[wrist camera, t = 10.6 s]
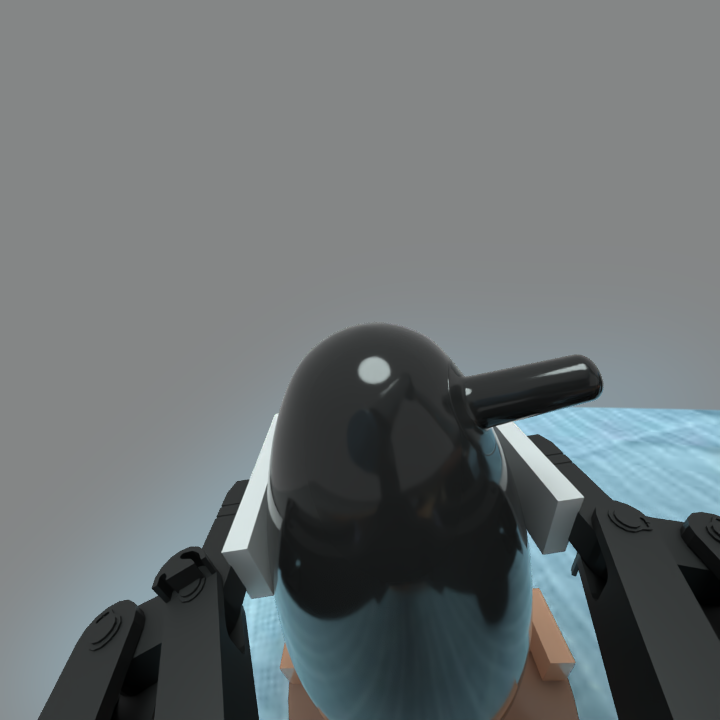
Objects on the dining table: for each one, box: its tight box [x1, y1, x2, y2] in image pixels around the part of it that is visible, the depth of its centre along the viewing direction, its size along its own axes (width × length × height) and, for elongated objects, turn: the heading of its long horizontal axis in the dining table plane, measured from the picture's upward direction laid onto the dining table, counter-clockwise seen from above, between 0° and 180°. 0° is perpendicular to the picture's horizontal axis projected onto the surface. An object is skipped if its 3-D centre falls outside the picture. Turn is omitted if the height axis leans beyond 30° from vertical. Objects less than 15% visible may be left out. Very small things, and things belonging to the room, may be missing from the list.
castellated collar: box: [280, 588, 579, 720], centre depth 15 cm, size 16×16×3 cm
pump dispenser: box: [267, 323, 603, 720], centre depth 10 cm, size 10×10×15 cm
